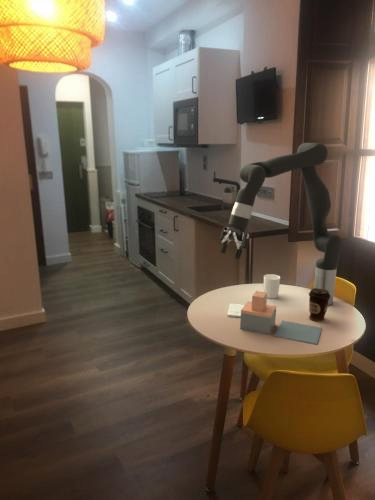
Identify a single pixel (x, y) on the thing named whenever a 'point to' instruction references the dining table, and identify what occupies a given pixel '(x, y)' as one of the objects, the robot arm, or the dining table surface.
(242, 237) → the robot arm
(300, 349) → the dining table surface
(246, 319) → the storage box
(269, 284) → the white cup
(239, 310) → the external hard drive
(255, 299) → the lid
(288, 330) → the mat
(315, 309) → the coffee cup
